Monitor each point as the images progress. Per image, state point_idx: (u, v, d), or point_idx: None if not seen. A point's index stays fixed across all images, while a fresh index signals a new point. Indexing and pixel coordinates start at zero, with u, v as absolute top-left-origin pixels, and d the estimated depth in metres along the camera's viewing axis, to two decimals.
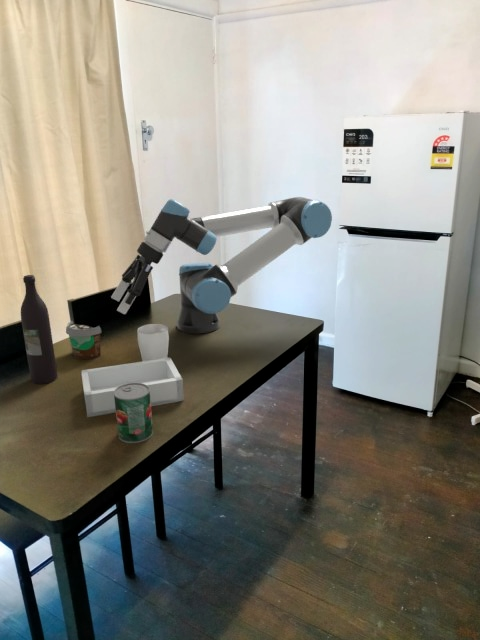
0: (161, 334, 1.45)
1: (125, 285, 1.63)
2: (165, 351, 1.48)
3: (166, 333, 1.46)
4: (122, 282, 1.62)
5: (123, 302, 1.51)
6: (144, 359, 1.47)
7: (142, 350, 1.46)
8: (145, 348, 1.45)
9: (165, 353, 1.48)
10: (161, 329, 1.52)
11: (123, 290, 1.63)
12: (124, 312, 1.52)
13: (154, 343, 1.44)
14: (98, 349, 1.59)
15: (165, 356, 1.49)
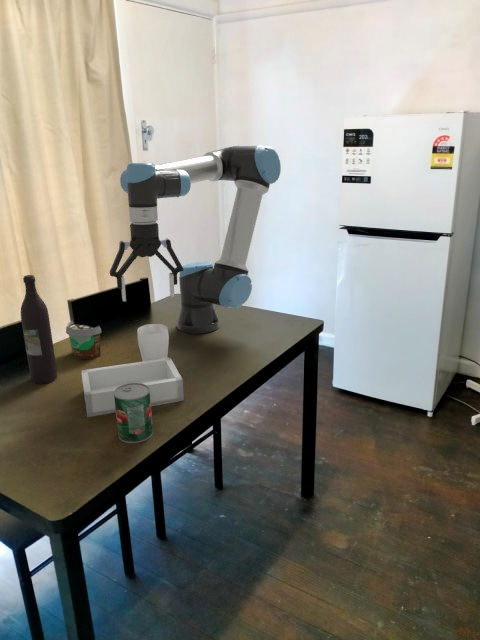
0: (161, 334, 1.45)
1: None
2: (165, 351, 1.48)
3: (166, 333, 1.46)
4: None
5: (173, 286, 1.45)
6: (144, 359, 1.47)
7: (142, 350, 1.46)
8: (145, 348, 1.45)
9: (165, 353, 1.48)
10: (161, 329, 1.52)
11: None
12: None
13: (154, 343, 1.44)
14: (98, 349, 1.59)
15: (165, 356, 1.49)
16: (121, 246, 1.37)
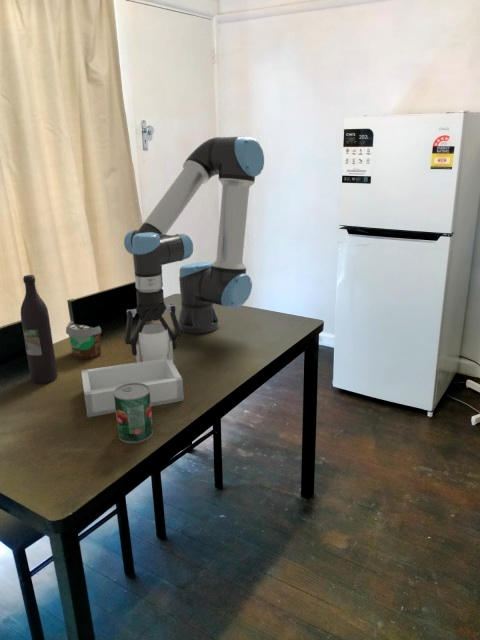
0: (161, 334, 1.45)
1: None
2: (165, 351, 1.48)
3: (166, 333, 1.46)
4: (138, 346, 1.47)
5: None
6: (144, 359, 1.47)
7: (142, 350, 1.46)
8: (145, 348, 1.45)
9: (165, 353, 1.48)
10: (161, 329, 1.52)
11: None
12: None
13: (154, 343, 1.44)
14: (98, 349, 1.59)
15: (165, 356, 1.49)
16: (129, 315, 1.43)
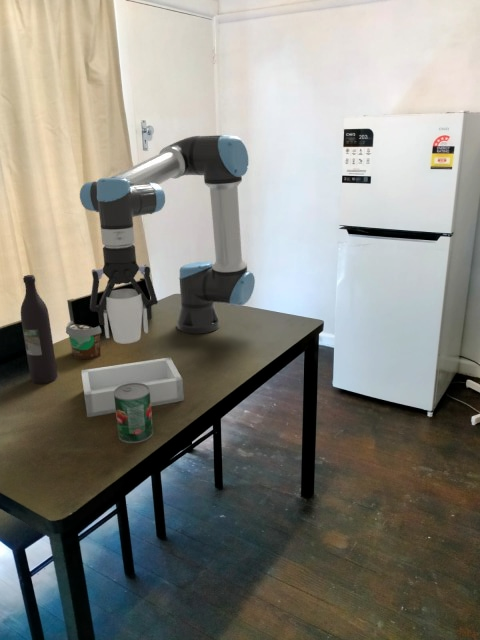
0: (133, 299, 1.22)
1: None
2: (138, 320, 1.25)
3: (139, 298, 1.24)
4: (106, 314, 1.24)
5: (147, 321, 1.28)
6: (113, 329, 1.25)
7: (111, 318, 1.24)
8: (113, 315, 1.23)
9: (138, 322, 1.26)
10: (135, 295, 1.29)
11: None
12: None
13: (124, 309, 1.22)
14: (98, 349, 1.59)
15: (138, 326, 1.26)
16: (94, 276, 1.20)
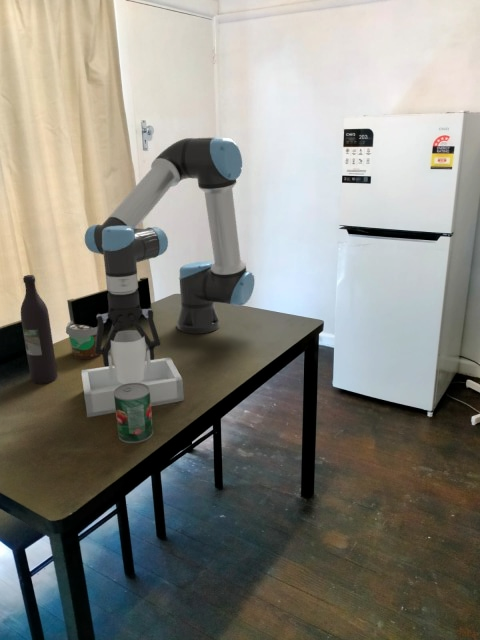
0: (136, 342, 1.26)
1: None
2: (141, 362, 1.29)
3: (142, 341, 1.28)
4: None
5: (150, 362, 1.32)
6: (117, 371, 1.29)
7: (115, 360, 1.28)
8: (117, 358, 1.26)
9: (141, 364, 1.29)
10: (138, 336, 1.33)
11: None
12: None
13: (128, 352, 1.25)
14: None
15: (141, 367, 1.30)
16: (99, 321, 1.24)
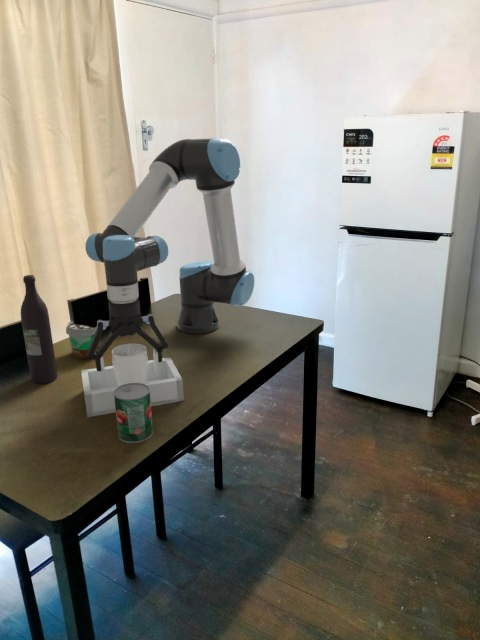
0: (138, 356, 1.27)
1: None
2: (143, 375, 1.30)
3: (144, 355, 1.29)
4: (103, 361, 1.28)
5: (158, 364, 1.33)
6: (119, 384, 1.30)
7: (117, 374, 1.29)
8: (120, 371, 1.28)
9: (143, 377, 1.31)
10: (140, 349, 1.34)
11: None
12: None
13: (130, 366, 1.27)
14: None
15: (143, 380, 1.31)
16: (99, 327, 1.24)
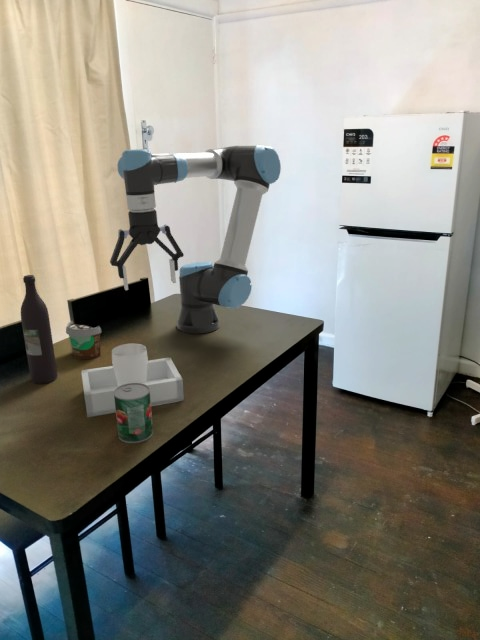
0: (138, 356, 1.27)
1: None
2: (143, 375, 1.30)
3: (144, 355, 1.29)
4: (125, 268, 1.40)
5: (174, 272, 1.45)
6: (119, 384, 1.30)
7: (117, 374, 1.29)
8: (120, 371, 1.28)
9: (143, 377, 1.31)
10: (140, 349, 1.34)
11: None
12: None
13: (130, 366, 1.27)
14: (98, 349, 1.59)
15: (143, 380, 1.31)
16: (121, 235, 1.36)
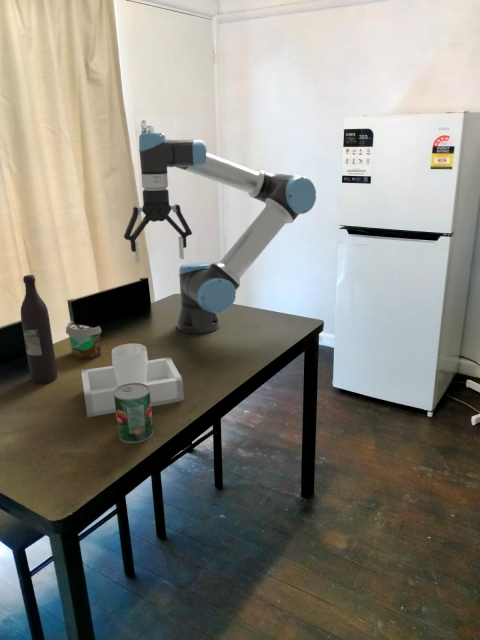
0: (138, 356, 1.27)
1: None
2: (143, 375, 1.30)
3: (144, 355, 1.29)
4: (137, 242, 1.51)
5: None
6: (119, 384, 1.30)
7: (117, 374, 1.29)
8: (120, 371, 1.28)
9: (143, 377, 1.31)
10: (140, 349, 1.34)
11: None
12: None
13: (130, 366, 1.27)
14: (98, 349, 1.59)
15: (143, 380, 1.31)
16: (135, 211, 1.48)
